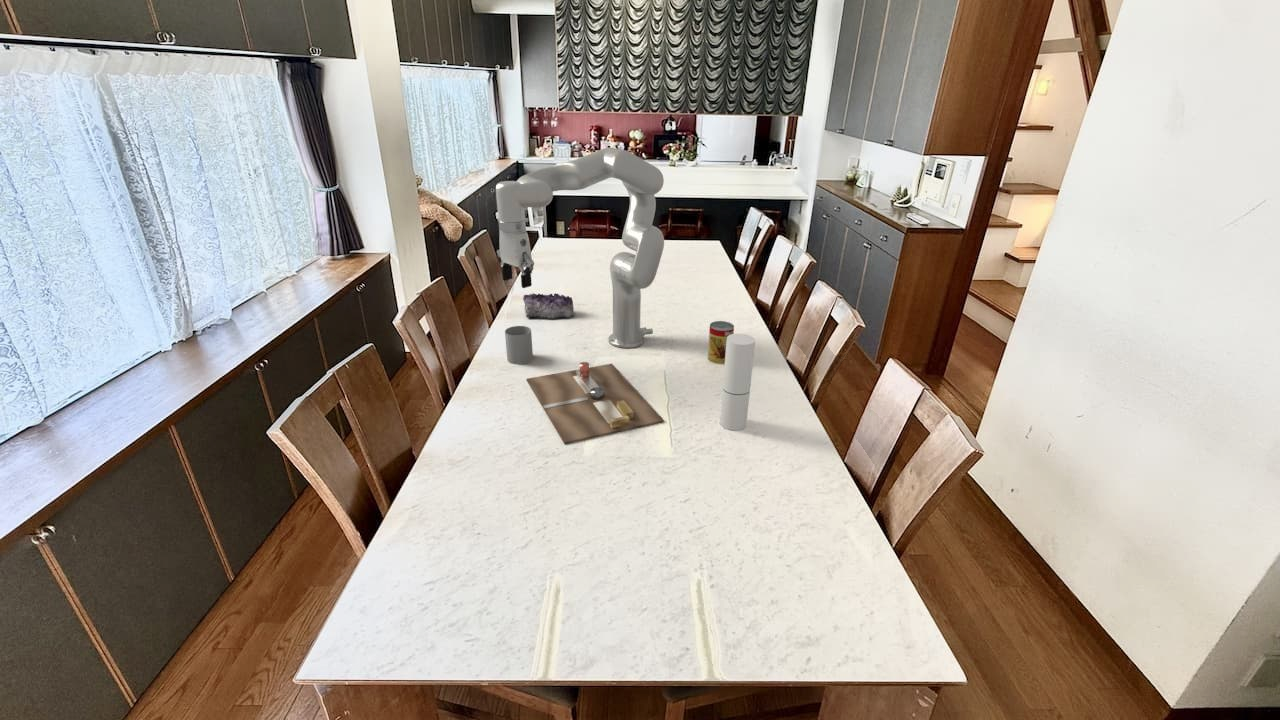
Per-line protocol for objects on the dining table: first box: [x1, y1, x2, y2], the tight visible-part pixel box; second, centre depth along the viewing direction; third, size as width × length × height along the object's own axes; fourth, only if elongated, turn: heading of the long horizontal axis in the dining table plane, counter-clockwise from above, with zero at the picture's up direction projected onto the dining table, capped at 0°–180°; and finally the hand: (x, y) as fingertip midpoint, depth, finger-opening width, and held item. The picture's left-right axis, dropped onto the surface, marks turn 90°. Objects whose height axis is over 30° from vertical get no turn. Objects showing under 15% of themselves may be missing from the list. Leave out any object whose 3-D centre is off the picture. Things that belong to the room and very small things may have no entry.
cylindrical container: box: [719, 333, 756, 431], centre depth 157 cm, size 7×7×25 cm
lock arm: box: [576, 361, 604, 399], centre depth 177 cm, size 17×4×5 cm, turn 24°
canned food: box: [707, 320, 735, 365], centre depth 197 cm, size 8×8×12 cm
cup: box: [504, 325, 534, 365], centre depth 195 cm, size 8×8×10 cm
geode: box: [522, 292, 575, 320], centre depth 231 cm, size 20×12×10 cm, turn 89°
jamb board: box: [526, 363, 664, 445], centre depth 172 cm, size 28×38×3 cm
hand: (517, 283), depth 180 cm, fingers open, 9 cm apart
